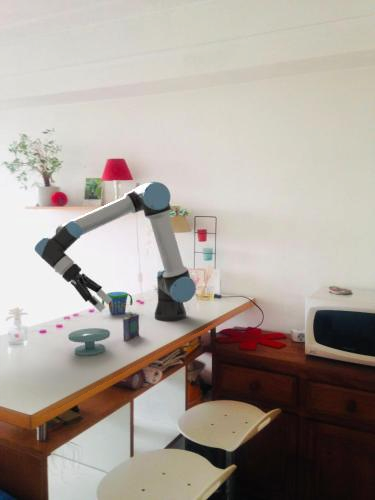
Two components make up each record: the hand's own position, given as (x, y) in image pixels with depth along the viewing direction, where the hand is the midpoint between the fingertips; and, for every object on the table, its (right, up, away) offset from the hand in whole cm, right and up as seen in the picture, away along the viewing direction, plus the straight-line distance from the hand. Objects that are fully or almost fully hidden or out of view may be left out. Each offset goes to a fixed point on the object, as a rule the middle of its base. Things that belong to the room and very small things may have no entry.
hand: (106, 305), depth 179 cm
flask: (+10, -13, +1) cm, 17 cm away
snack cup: (-2, -10, +43) cm, 44 cm away
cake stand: (-4, -15, -14) cm, 21 cm away
